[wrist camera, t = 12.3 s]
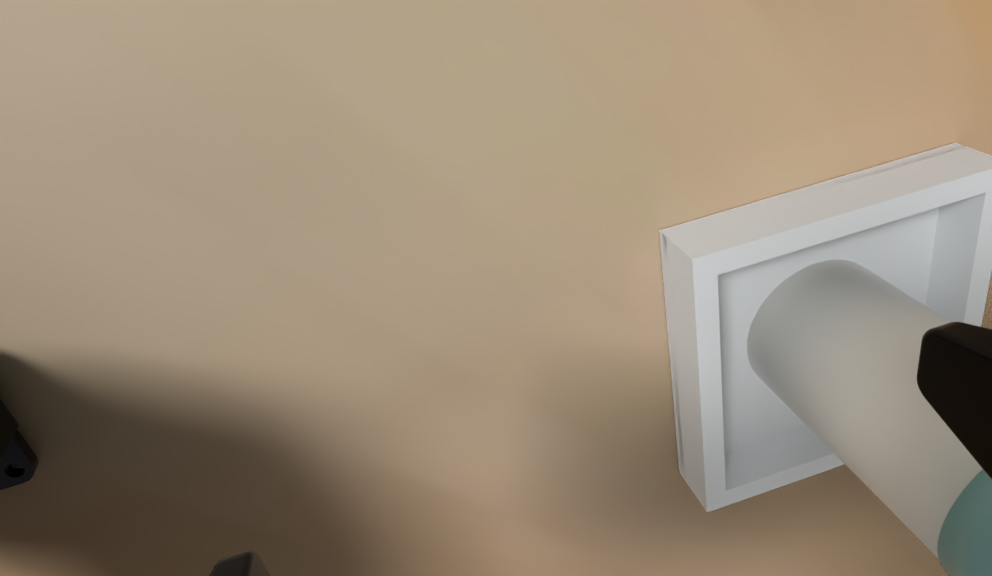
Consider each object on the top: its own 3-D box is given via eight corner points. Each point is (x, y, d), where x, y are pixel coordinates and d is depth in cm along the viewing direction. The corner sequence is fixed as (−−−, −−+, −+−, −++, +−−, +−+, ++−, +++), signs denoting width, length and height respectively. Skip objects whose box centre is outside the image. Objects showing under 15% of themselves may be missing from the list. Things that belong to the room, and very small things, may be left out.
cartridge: (777, 414, 28) (1141, 795, 16) (720, 323, 25) (1110, 705, 13) (899, 328, 27) (1369, 656, 15) (854, 226, 25) (1389, 531, 13)
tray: (679, 471, 29) (706, 512, 27) (659, 230, 23) (692, 259, 21) (920, 389, 30) (963, 422, 28) (955, 142, 25) (1011, 162, 23)
